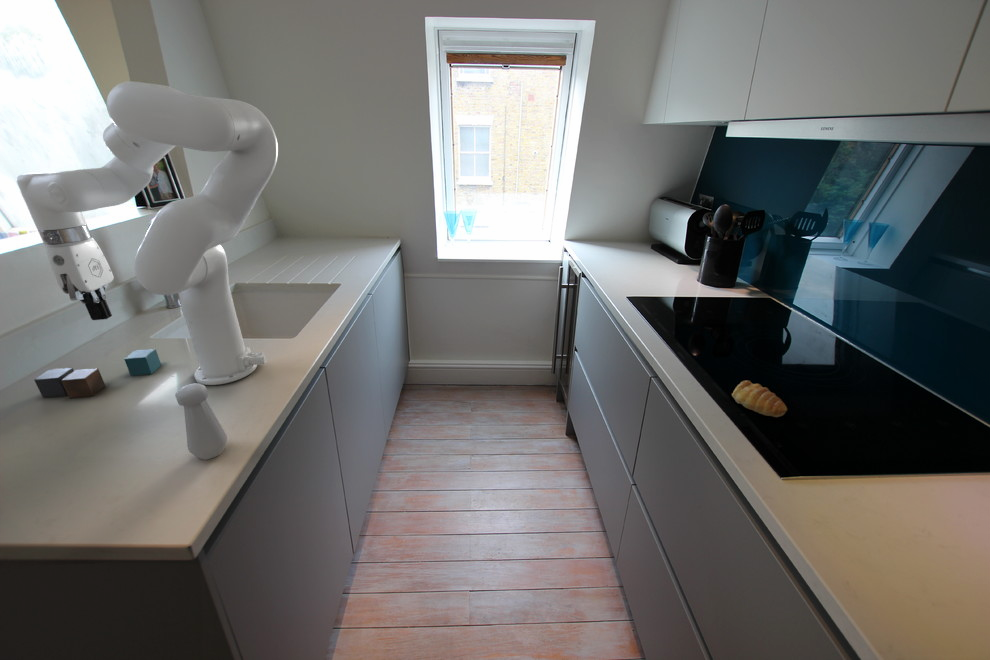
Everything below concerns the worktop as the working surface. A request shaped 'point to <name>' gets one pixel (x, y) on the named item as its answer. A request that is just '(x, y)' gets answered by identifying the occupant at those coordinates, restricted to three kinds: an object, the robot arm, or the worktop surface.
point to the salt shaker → (201, 423)
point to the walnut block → (83, 383)
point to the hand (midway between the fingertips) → (102, 318)
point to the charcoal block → (52, 382)
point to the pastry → (759, 399)
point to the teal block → (142, 362)
